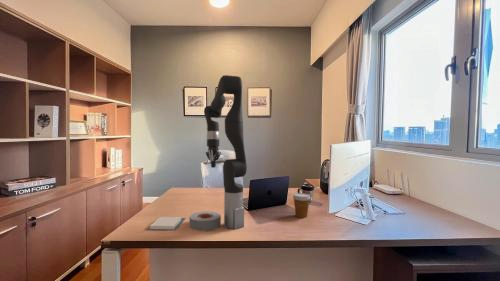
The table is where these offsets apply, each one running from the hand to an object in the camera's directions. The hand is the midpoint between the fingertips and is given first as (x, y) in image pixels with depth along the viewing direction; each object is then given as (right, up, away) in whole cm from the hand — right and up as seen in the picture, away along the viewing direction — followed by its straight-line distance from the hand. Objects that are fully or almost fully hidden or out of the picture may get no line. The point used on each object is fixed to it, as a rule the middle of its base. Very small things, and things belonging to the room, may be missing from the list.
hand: (213, 167), depth 156 cm
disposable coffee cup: (+51, -26, -11) cm, 58 cm away
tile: (-19, -24, -22) cm, 38 cm away
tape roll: (0, -27, -27) cm, 38 cm away
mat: (-19, -26, -26) cm, 42 cm away
